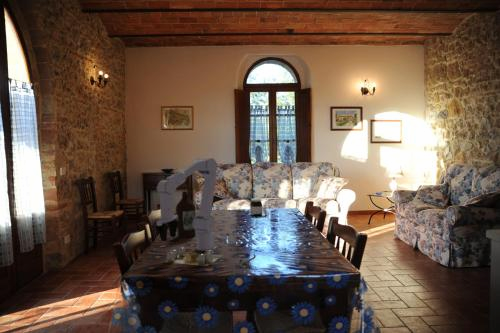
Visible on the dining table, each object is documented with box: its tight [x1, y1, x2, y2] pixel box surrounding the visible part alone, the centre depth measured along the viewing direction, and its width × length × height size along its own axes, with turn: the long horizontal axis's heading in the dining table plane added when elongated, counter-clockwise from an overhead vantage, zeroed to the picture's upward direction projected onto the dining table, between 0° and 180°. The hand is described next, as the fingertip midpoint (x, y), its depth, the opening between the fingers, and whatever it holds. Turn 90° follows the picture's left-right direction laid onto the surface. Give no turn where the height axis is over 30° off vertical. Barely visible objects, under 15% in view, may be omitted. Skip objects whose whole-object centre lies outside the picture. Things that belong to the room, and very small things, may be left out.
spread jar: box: [249, 197, 268, 217], centre depth 284 cm, size 12×11×12 cm
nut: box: [186, 251, 197, 262], centre depth 173 cm, size 4×5×3 cm
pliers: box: [239, 253, 257, 269], centre depth 175 cm, size 10×1×20 cm
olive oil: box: [175, 190, 196, 239], centre depth 224 cm, size 11×11×25 cm
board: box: [165, 252, 224, 267], centre depth 176 cm, size 16×20×1 cm
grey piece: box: [166, 246, 214, 266], centre depth 173 cm, size 12×20×4 cm, turn 69°
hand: (168, 238), depth 176 cm, fingers open, 7 cm apart
